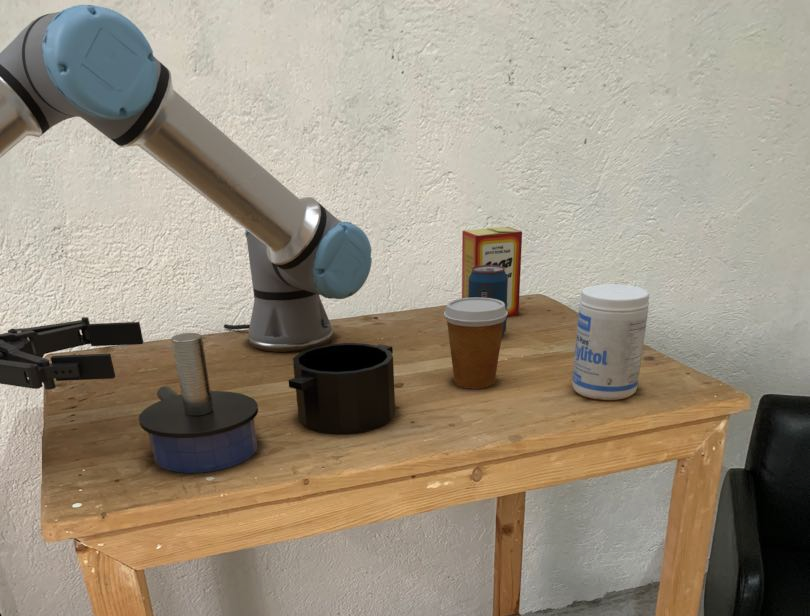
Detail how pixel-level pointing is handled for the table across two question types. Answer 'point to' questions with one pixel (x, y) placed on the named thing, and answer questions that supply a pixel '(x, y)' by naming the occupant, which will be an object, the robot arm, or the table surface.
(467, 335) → the disposable coffee cup
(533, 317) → the table surface
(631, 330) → the supplement tub
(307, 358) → the pot
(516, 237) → the baking soda box
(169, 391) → the pan handle
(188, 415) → the lid
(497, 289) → the soda can
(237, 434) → the pan
